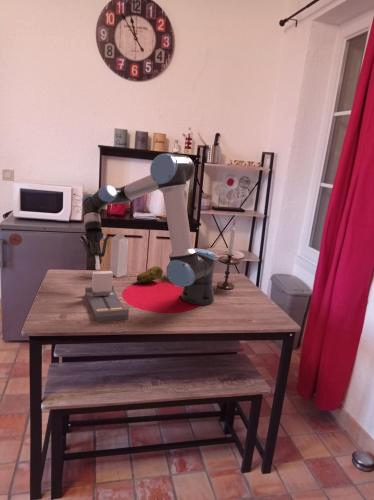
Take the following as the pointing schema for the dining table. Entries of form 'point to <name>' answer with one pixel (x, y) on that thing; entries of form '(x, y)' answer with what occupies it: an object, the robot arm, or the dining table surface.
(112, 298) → the fader deck
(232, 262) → the candlestick
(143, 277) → the potato
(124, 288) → the dining table surface
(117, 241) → the milk
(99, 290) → the fader knob
